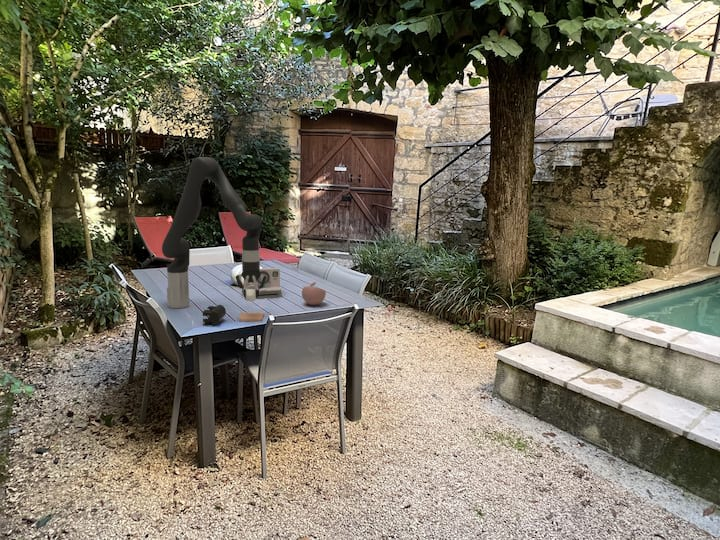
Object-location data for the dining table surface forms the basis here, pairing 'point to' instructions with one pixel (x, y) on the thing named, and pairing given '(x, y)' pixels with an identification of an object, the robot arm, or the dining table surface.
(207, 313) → the dark knobbly lump
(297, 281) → the dining table surface
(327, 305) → the dining table surface
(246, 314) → the tile
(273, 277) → the instant camera
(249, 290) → the connector
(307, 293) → the apple
